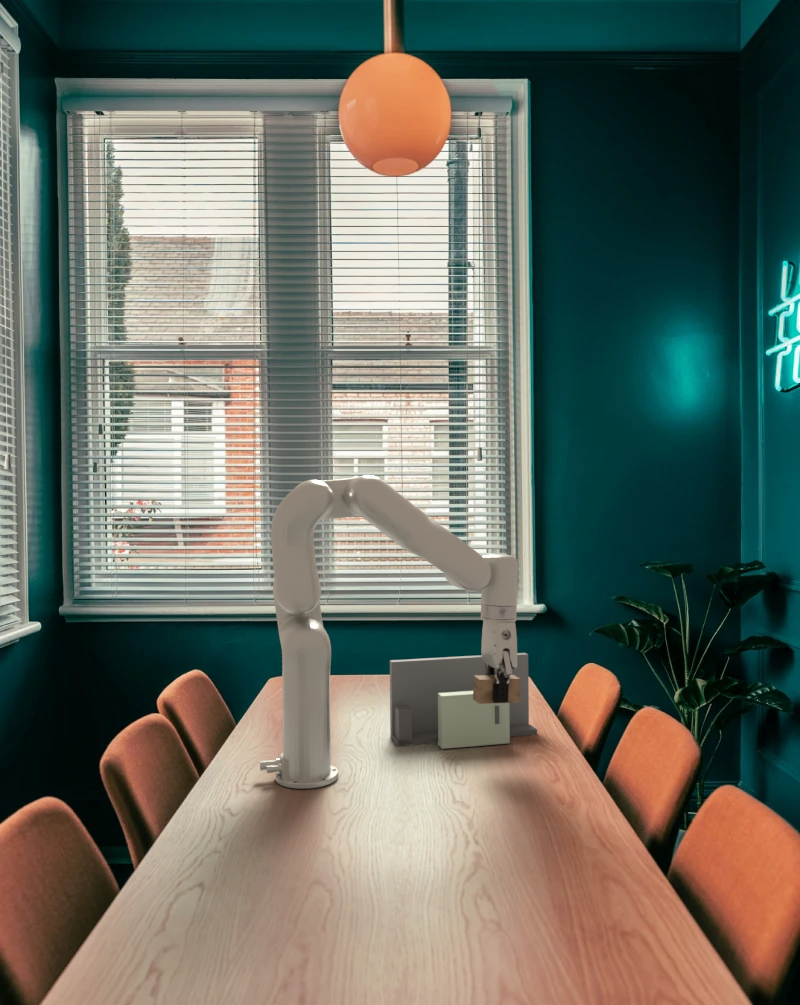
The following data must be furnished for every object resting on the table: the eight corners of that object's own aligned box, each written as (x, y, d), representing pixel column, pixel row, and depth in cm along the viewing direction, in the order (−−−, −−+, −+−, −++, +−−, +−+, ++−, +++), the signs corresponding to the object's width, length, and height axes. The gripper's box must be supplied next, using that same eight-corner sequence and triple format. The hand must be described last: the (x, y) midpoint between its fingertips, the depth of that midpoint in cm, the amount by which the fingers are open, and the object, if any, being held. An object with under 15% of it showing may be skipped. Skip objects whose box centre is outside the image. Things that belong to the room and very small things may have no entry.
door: (442, 749, 171) (442, 696, 171) (438, 744, 174) (437, 693, 174) (510, 743, 175) (509, 692, 175) (505, 739, 178) (504, 688, 178)
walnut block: (479, 703, 160) (479, 679, 160) (473, 699, 164) (473, 675, 164) (519, 702, 162) (520, 678, 162) (512, 697, 166) (513, 674, 166)
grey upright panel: (397, 745, 175) (396, 666, 175) (390, 736, 181) (389, 660, 181) (537, 734, 182) (536, 658, 182) (525, 726, 189) (525, 652, 189)
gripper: (530, 618, 156) (528, 709, 156) (501, 607, 172) (499, 689, 172) (495, 618, 154) (493, 710, 154) (469, 607, 171) (467, 690, 170)
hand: (496, 698), depth 163 cm, fingers closed on walnut block, 4 cm apart
